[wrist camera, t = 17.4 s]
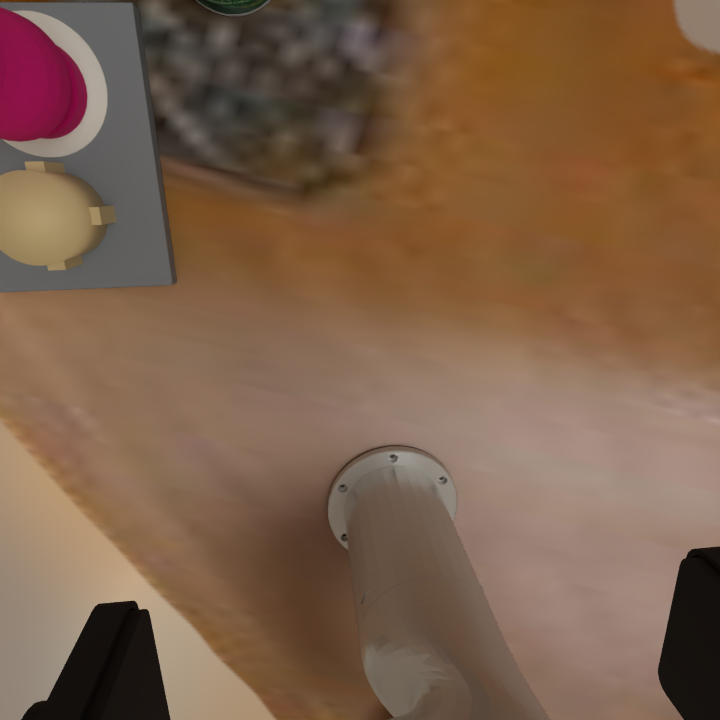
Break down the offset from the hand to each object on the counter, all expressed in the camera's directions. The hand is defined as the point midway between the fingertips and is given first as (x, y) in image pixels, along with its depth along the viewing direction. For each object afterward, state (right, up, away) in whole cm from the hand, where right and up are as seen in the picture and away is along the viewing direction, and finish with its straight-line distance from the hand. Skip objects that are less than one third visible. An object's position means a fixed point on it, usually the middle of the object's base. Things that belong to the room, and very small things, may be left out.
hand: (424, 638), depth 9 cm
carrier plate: (-23, +20, +29) cm, 42 cm away
